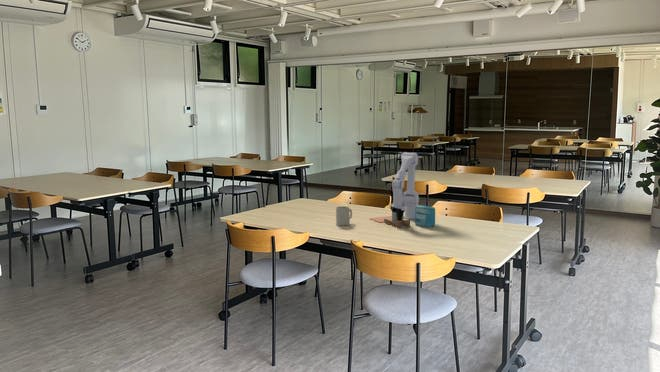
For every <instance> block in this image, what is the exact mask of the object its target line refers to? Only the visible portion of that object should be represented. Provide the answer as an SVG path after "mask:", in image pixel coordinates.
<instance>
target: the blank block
mask: <svg viewBox="0 0 660 372" xmlns="http://www.w3.org/2000/svg"><path fill="white" fill-rule="evenodd" d="M391 216H392V221H393V222H395V223H396V221H398V219H397V213H396V212H392V211H391ZM403 216H405V212H404V213H403ZM403 216H402V219H401V221H402V220H404V218H403Z"/></svg>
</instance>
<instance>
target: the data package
mask: <svg viewBox="0 0 660 372" xmlns="http://www.w3.org/2000/svg"><path fill="white" fill-rule="evenodd" d="M414 224H415V226H418V225H421V226H420V227H424V226H427V227H426V228H432V227H435V225H436V208H435V207H433V206H425V205H419V206H417V207H415V219H414Z"/></svg>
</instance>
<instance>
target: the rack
mask: <svg viewBox="0 0 660 372" xmlns="http://www.w3.org/2000/svg"><path fill="white" fill-rule="evenodd" d="M383 223H384V224H385V225H388V224H389V225H388V226H391V225H392V226H391V227H393V226H394V228H396V227H400V228H403V227H402V226H409V227H411V219H403V220H402V221H396V223H395V222H393V221H390V220H388V219H384V222H383Z"/></svg>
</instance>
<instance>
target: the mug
mask: <svg viewBox="0 0 660 372" xmlns="http://www.w3.org/2000/svg"><path fill="white" fill-rule="evenodd" d="M335 215H336V216H335V219H336V221H335V223H336V226H338V225H341V226H340V227H343V226H342V225H347V226H349V225H350V221H351V219H352V217H353V210H352V209H351V208H350V207H349V206H347V205H346V206H342V205H341V206H337V207H336V209H335Z"/></svg>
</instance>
